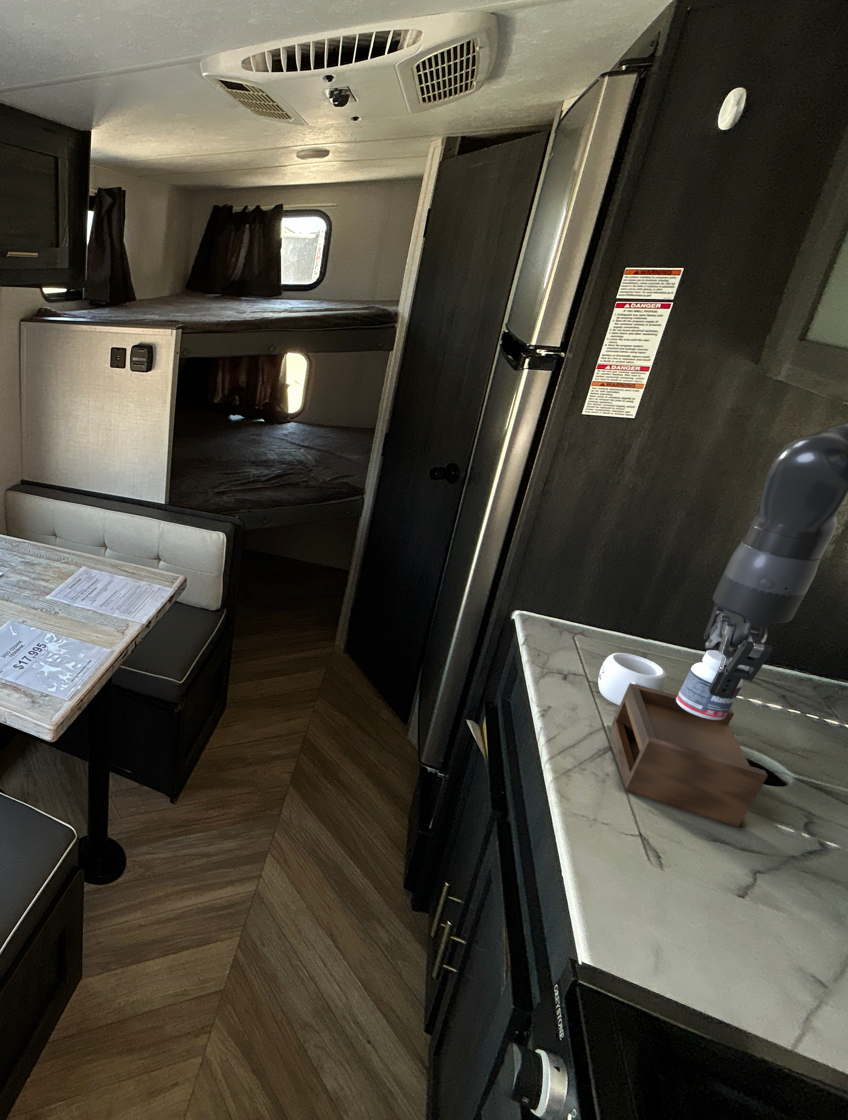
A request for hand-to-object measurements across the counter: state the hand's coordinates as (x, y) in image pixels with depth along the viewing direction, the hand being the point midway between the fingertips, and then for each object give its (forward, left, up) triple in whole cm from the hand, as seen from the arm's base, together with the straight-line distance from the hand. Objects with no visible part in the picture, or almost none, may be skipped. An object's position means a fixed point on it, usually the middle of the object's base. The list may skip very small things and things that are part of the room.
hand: (713, 683), depth 90 cm
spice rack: (0, 0, -17) cm, 17 cm away
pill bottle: (0, 0, -5) cm, 5 cm away
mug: (+3, -18, -18) cm, 25 cm away
